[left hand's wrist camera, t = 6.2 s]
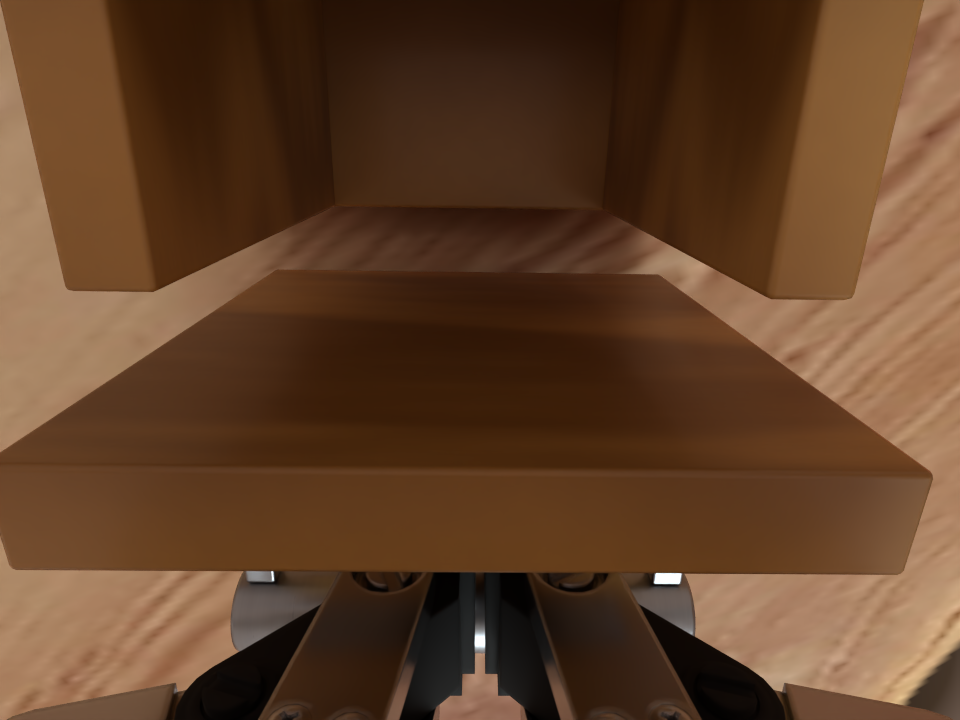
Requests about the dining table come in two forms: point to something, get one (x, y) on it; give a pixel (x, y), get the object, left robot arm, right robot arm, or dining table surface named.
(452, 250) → the dining table surface
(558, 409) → the drawer
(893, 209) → the dining table surface
